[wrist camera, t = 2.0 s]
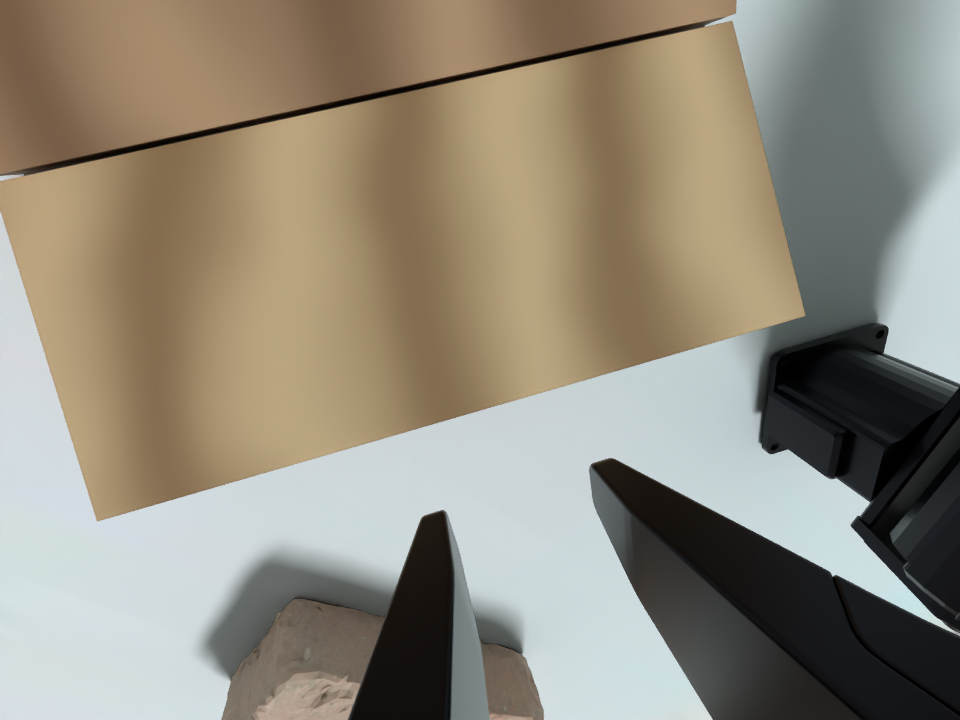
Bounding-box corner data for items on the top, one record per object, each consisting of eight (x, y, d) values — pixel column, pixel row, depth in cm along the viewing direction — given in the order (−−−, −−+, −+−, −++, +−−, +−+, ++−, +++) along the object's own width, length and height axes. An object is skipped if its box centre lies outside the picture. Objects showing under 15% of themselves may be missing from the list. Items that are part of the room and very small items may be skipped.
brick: (226, 682, 26) (198, 785, 22) (294, 585, 24) (276, 679, 20) (461, 719, 32) (474, 803, 28) (530, 645, 30) (555, 725, 26)
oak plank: (703, 53, 16) (732, 20, 14) (771, 319, 16) (805, 316, 14) (40, 201, 14) (-9, 183, 12) (133, 503, 14) (97, 521, 12)
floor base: (689, -383, 12) (761, -504, 10) (684, 308, 21) (720, 327, 19) (-219, -267, 10) (-391, -387, 8) (208, 442, 19) (185, 480, 17)
